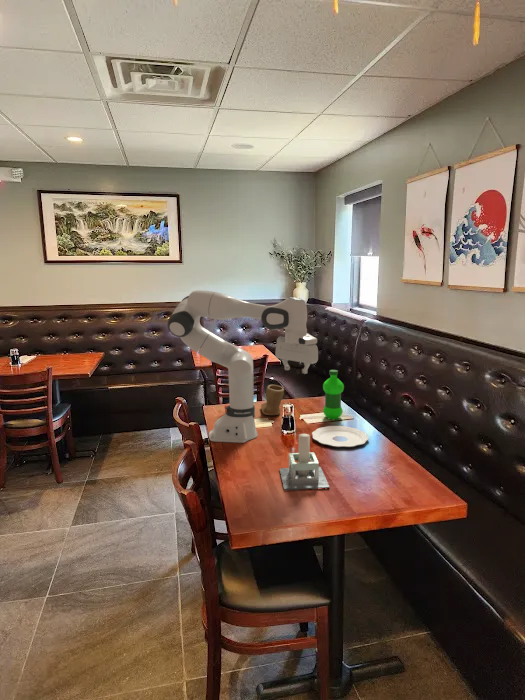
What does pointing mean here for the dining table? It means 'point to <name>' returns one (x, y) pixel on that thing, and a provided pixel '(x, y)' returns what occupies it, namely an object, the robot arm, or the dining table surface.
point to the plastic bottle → (333, 396)
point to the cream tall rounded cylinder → (303, 452)
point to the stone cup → (273, 400)
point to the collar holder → (308, 482)
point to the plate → (352, 435)
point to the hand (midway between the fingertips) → (295, 371)
